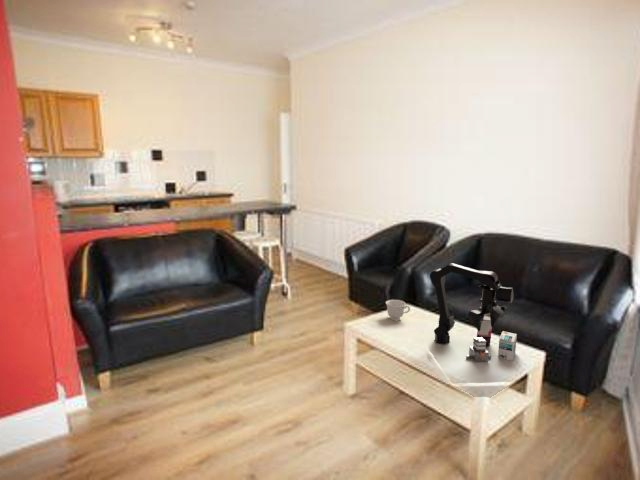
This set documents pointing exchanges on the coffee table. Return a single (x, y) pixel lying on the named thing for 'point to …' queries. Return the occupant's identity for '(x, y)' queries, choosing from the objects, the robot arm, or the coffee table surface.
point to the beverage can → (485, 330)
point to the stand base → (478, 355)
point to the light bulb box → (507, 345)
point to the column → (479, 344)
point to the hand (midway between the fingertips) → (485, 329)
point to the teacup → (396, 309)
